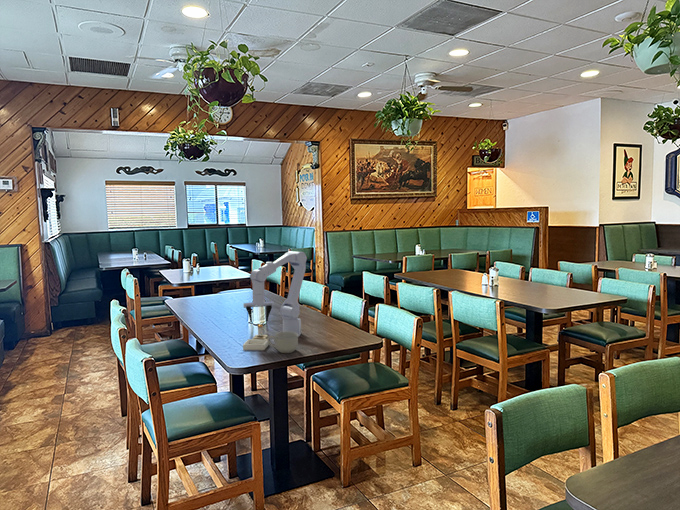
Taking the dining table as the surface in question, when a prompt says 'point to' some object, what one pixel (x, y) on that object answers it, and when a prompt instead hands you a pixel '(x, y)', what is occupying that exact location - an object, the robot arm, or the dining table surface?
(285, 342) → the teacup
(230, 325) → the dining table surface
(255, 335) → the beige square frame
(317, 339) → the dining table surface
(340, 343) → the dining table surface
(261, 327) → the pin
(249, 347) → the tray
